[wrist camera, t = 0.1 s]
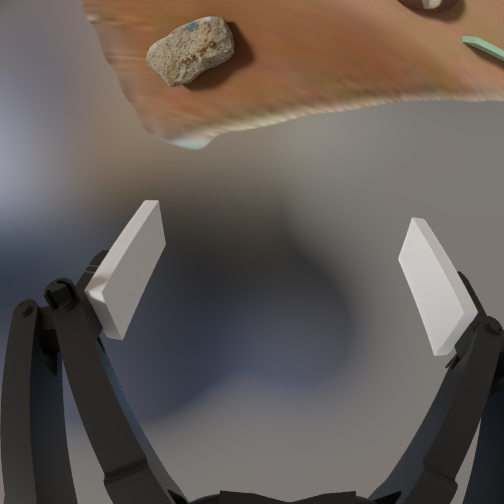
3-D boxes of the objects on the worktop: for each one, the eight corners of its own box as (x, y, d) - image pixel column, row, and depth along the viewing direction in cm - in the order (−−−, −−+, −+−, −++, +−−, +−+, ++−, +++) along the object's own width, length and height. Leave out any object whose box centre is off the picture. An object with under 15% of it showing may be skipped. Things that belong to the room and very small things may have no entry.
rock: (245, 52, 33) (242, 52, 29) (173, 93, 36) (163, 99, 33) (217, 7, 29) (210, 2, 25) (146, 51, 32) (132, 52, 29)
